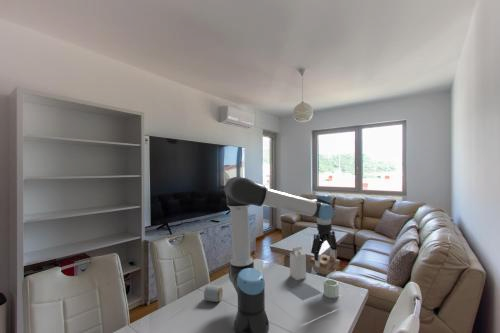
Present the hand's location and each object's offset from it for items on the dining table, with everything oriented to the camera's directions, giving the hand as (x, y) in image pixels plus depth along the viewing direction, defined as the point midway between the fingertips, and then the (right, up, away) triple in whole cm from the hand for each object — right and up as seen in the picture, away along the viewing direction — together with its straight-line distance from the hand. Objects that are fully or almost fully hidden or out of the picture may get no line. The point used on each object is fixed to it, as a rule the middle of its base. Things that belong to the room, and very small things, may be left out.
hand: (325, 263), depth 131 cm
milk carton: (-11, -17, +20) cm, 28 cm away
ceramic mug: (-60, -18, -3) cm, 63 cm away
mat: (-11, -17, +2) cm, 20 cm away
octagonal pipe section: (+3, -17, -1) cm, 17 cm away
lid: (0, -2, 0) cm, 2 cm away
